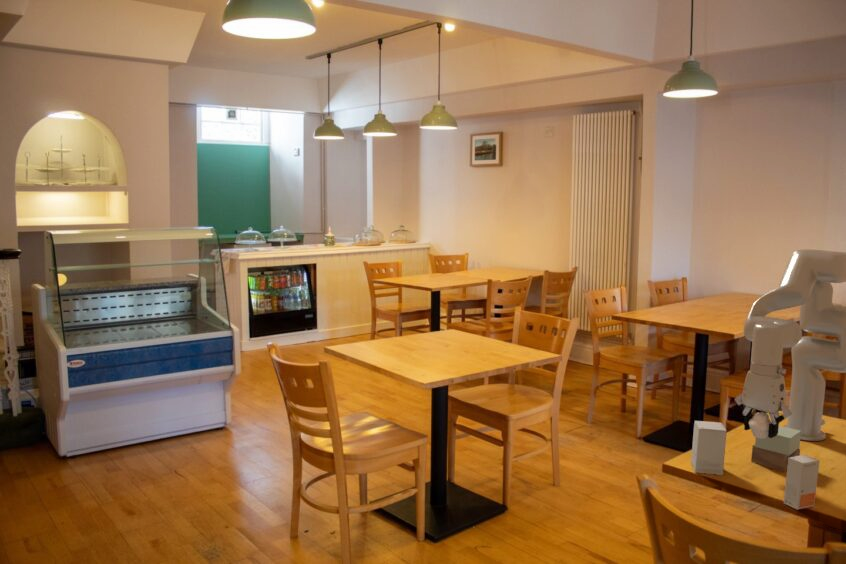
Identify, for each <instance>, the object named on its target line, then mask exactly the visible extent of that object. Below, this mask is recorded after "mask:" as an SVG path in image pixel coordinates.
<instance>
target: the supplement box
mask: <svg viewBox="0 0 846 564" xmlns="http://www.w3.org/2000/svg"><path fill="white" fill-rule="evenodd" d="M726 443H727V429H726V428H725V426H724V425H723V423H722V422H718V421H717V422H716V421H705V420H704V421H702V420H694V423H693V435H692V444H691V445H692V447H691V459H690V464H691V467H692V468H693V470H694V473H699V474H704V473H705V475H707V474H708V475H714V474H716V475H717V476H723V475H724V466H725V453H726ZM716 475H715V476H716Z"/></svg>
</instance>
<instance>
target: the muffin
mask: <svg viewBox="0 0 846 564" xmlns="http://www.w3.org/2000/svg"><path fill="white" fill-rule="evenodd" d="M753 415H754V417H753V418H752V419H750V420H749V426H750V429H749V430H750V431H751V433H752V436H753V437H754V438H756V437H757V438H766V437H767V436H768V433H769V424H770V423H771V419H770V415H769V413H767V412H764V411H757V412H756V413H754V414H753Z"/></svg>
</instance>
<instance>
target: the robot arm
mask: <svg viewBox="0 0 846 564" xmlns="http://www.w3.org/2000/svg"><path fill="white" fill-rule="evenodd" d="M842 283H846V251H845V252H844V251H833V250H821V249H806V248H805V249H804V248H803V249H797V250H795V251H793V252H792V254H791V256H790V257H789V260H788V262H787V264H786V267H785V270H784V271H783V275H782V277H781V280H780V281H779V284H778V286H777V287H775V288H774V289H772V290H770V291H768V292H766V293H764V294H763V295H762V296H760V297H759V298H757V299H756V300H755V302H754V303H753V304H752V305H751V306H750V307H751V308H750V309H749V312H748V313H747V315H746V318H745V320H744V324H743V335H744V337H745V339H747V340H748V341H750V342H751V354H750V355H751V356H750V367H749V370H748V371H747V374H746V375H745V380H744V385H743V388H742V393H740V394H739V395H737V396H736V397H735V398H734V402H736V404H737V405H738V407H739V409H740V410H741V413H742V415H743V417H744V418H743V419H744V421H743V426H744V429H743V430H745V431H749V430H751V429H750V426H749V420H750V419H752V418H753V417H754V415H755V414H753V412H754V410H758V411H759V412H764V413H766V414H768V416H769V419H770V421H771V423H770V424H769V433H768V437H769V438H773V437H775V436H776V435H777V434H778V428H779V426H780V423H781V422H783V421H784V420H786V419H787V424H784V425H782V426H783V427H787V428H791V429H796V430H800V431H801V437H800V441H801V440H802V441H809V442H819V441H824V440H825V439H826V437H827V436H826V433H825V432H824V431H822V426H824V425H825V424H826V421H825V420H824V419H823V411H824V403H825V396H826V395H825V393H826V392H825V391H826V380H825V377H824V376H823V374H822V372H821V371H820V370H824V371H829V372H835V373H841V374H842V373H844V374H846V306H843V305H837V304H833V294H834V287H833V285H832V284H842ZM799 306H800V307H799ZM794 307H799V323H798V322H797V321H794V320H790V319H785V318H778V317H770V316H767V315H769V314H771V313H774V312H777V311H781V310H786V309H787V310H788V309H791V308H794ZM803 331H804V332H806V333H809V334H810V333H811V334H815V335H822V336H829V337H835V338H837V339H838V340H837V339H828V338H822V337H816V336H807V335H804V336H803ZM790 348H791V353H790V354H791V364H792V368H791V369H792V371H791V385H790V393H789V402H788V405H787V404H786V403H787V402H786V401H787V400H786V399H787V397H786V396H787V395H786V393H787V392H786V381H785V376H784V375H786V374H787V369H786V368H783V364H782V363H783V355H784V349H790ZM780 412H782V414H780Z"/></svg>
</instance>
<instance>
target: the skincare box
mask: <svg viewBox="0 0 846 564" xmlns="http://www.w3.org/2000/svg"><path fill="white" fill-rule="evenodd" d="M819 468H820V460H819V459H816V458H814V457H812V456H809V455H808V454H804V455H803V454H802V455H799V456H795V457H790V458H788V467H787V470H786V479H785V487H784V495H783V504H784V505H787V506H789V507H790V508H793V509H795V510H797V511H798V510H803V509H807V508H813V507H815V502H816V494H817V487H818V486H817V485H818V476H819Z"/></svg>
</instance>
